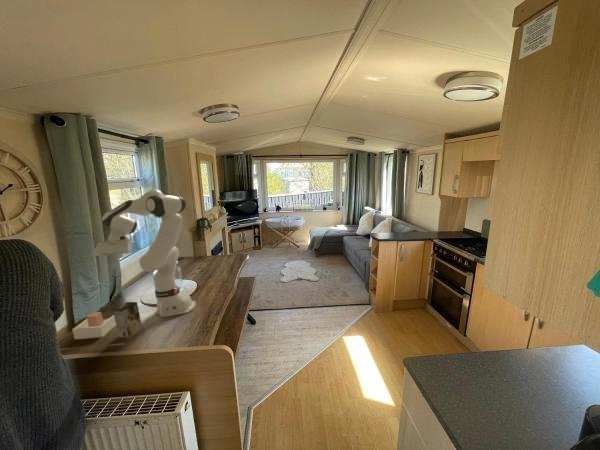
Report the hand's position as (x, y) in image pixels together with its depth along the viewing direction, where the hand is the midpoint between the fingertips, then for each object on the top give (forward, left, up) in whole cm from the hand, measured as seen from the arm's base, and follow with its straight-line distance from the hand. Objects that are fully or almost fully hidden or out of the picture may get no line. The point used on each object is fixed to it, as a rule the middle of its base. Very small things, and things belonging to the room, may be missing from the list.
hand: (109, 260), depth 159 cm
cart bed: (-2, +23, -33) cm, 40 cm away
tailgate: (-2, +16, -33) cm, 36 cm away
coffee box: (-22, +27, -34) cm, 49 cm away
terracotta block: (-2, +23, -32) cm, 39 cm away
